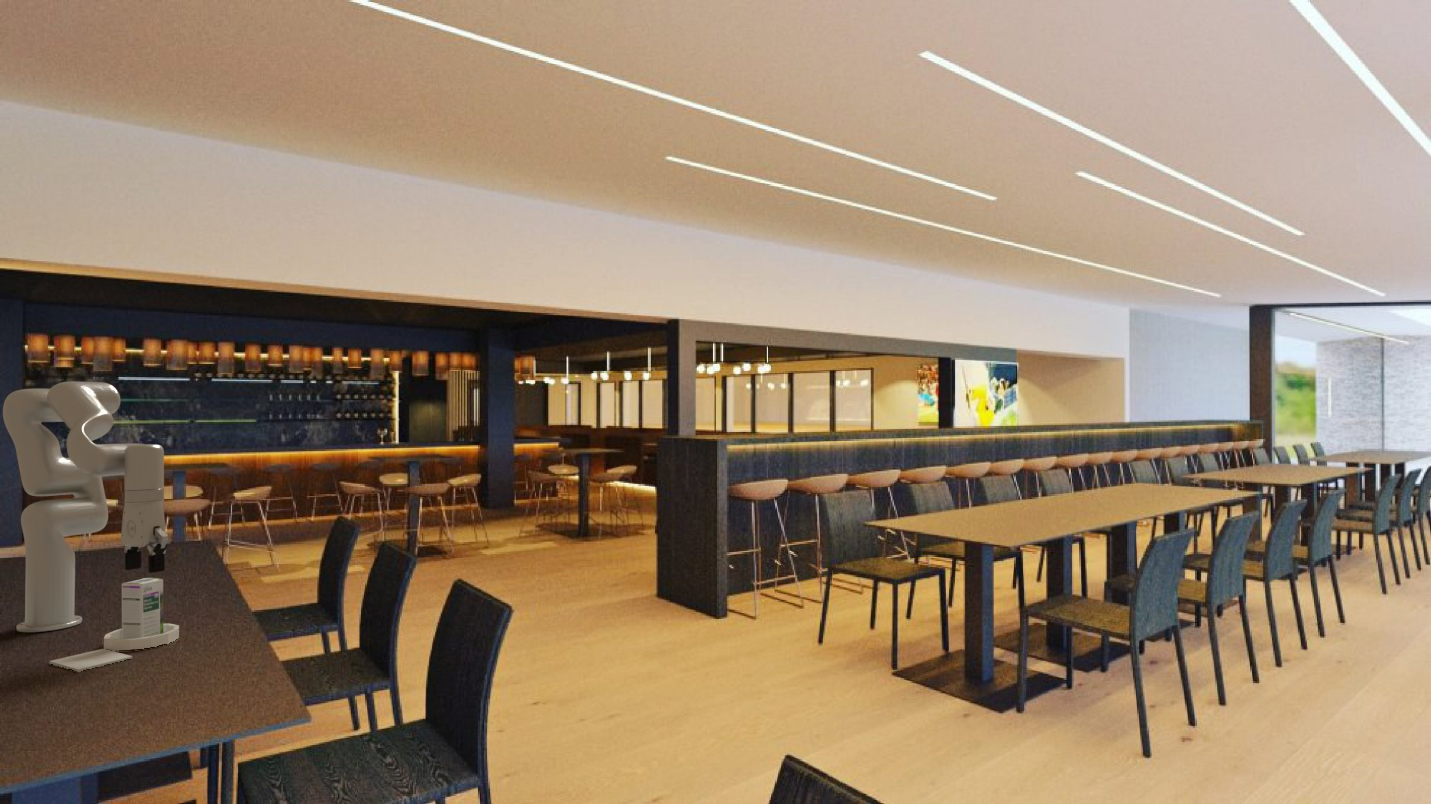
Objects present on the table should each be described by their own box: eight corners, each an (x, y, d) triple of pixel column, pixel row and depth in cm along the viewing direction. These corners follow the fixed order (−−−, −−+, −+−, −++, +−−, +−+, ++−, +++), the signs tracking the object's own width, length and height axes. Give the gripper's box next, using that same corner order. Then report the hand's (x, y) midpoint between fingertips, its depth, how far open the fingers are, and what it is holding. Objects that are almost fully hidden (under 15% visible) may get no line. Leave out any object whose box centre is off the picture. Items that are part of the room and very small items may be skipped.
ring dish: (91, 646, 181) (92, 635, 181) (158, 631, 194) (158, 621, 194) (125, 654, 175) (125, 643, 175) (191, 638, 187) (191, 628, 187)
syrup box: (141, 646, 181) (142, 583, 181) (120, 645, 182) (121, 582, 182) (163, 639, 187) (164, 578, 187) (143, 638, 188) (143, 577, 188)
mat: (49, 663, 168) (49, 661, 168) (103, 651, 177) (103, 648, 177) (78, 672, 163) (78, 669, 163) (132, 659, 172) (132, 656, 172)
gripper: (106, 497, 186) (106, 570, 185) (147, 499, 178) (147, 576, 177) (141, 494, 192) (141, 565, 192) (182, 496, 184) (183, 570, 184)
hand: (144, 570), depth 184 cm, fingers open, 9 cm apart
